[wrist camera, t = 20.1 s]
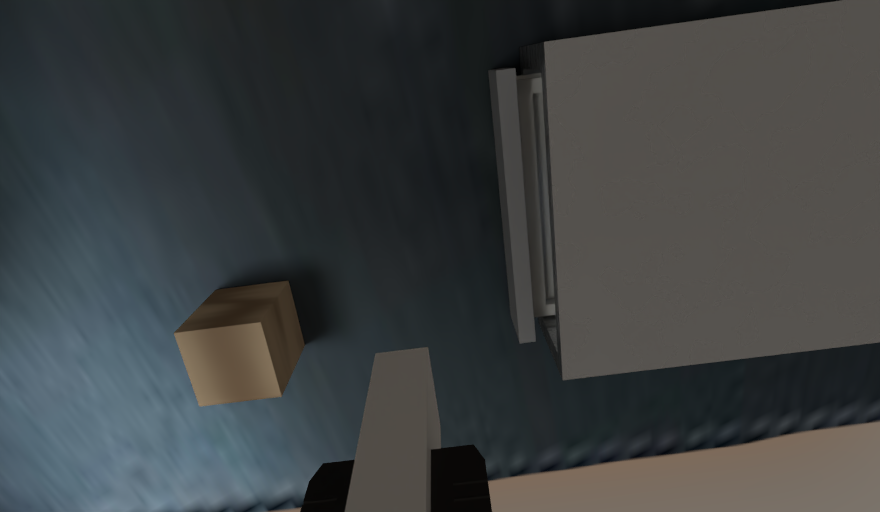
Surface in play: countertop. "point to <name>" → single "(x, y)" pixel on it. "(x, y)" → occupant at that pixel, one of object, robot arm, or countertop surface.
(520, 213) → the tray
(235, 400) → the block
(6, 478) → the countertop surface
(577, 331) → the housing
